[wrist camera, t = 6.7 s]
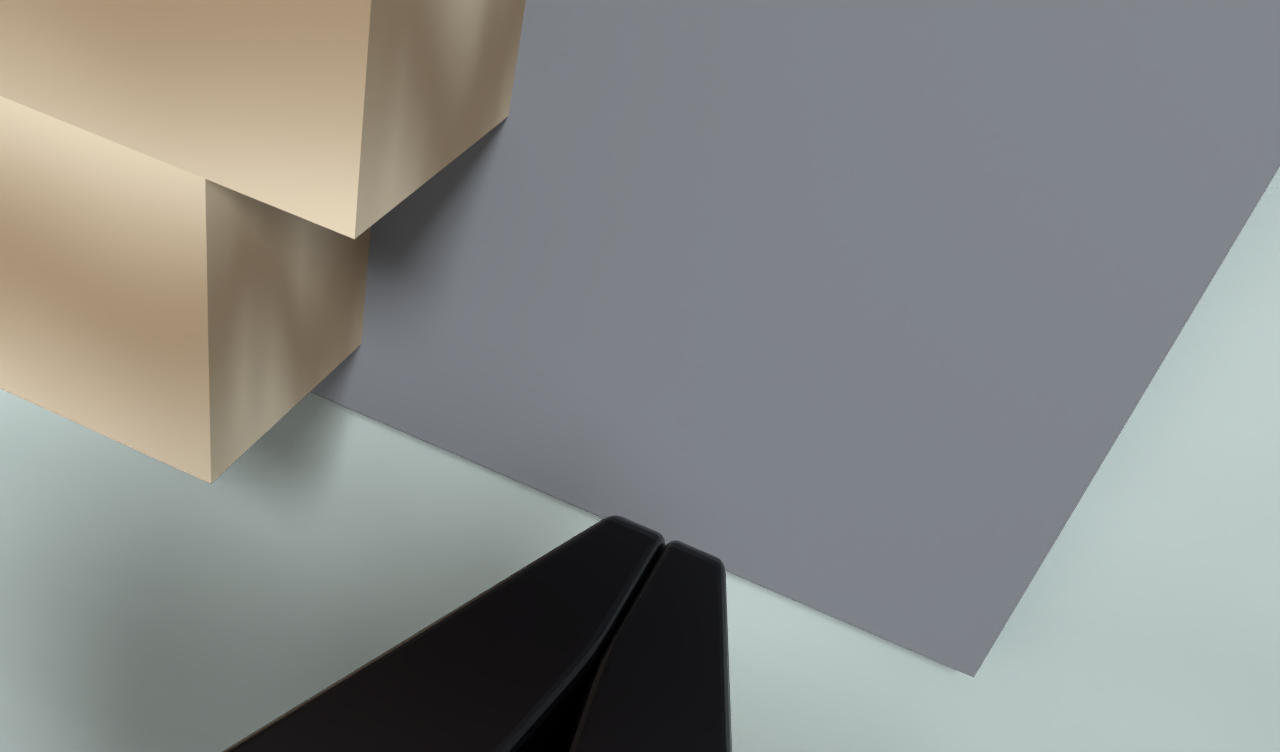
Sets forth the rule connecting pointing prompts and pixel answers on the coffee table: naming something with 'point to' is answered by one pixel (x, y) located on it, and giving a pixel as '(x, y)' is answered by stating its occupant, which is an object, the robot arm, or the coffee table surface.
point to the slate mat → (826, 277)
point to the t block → (216, 196)
